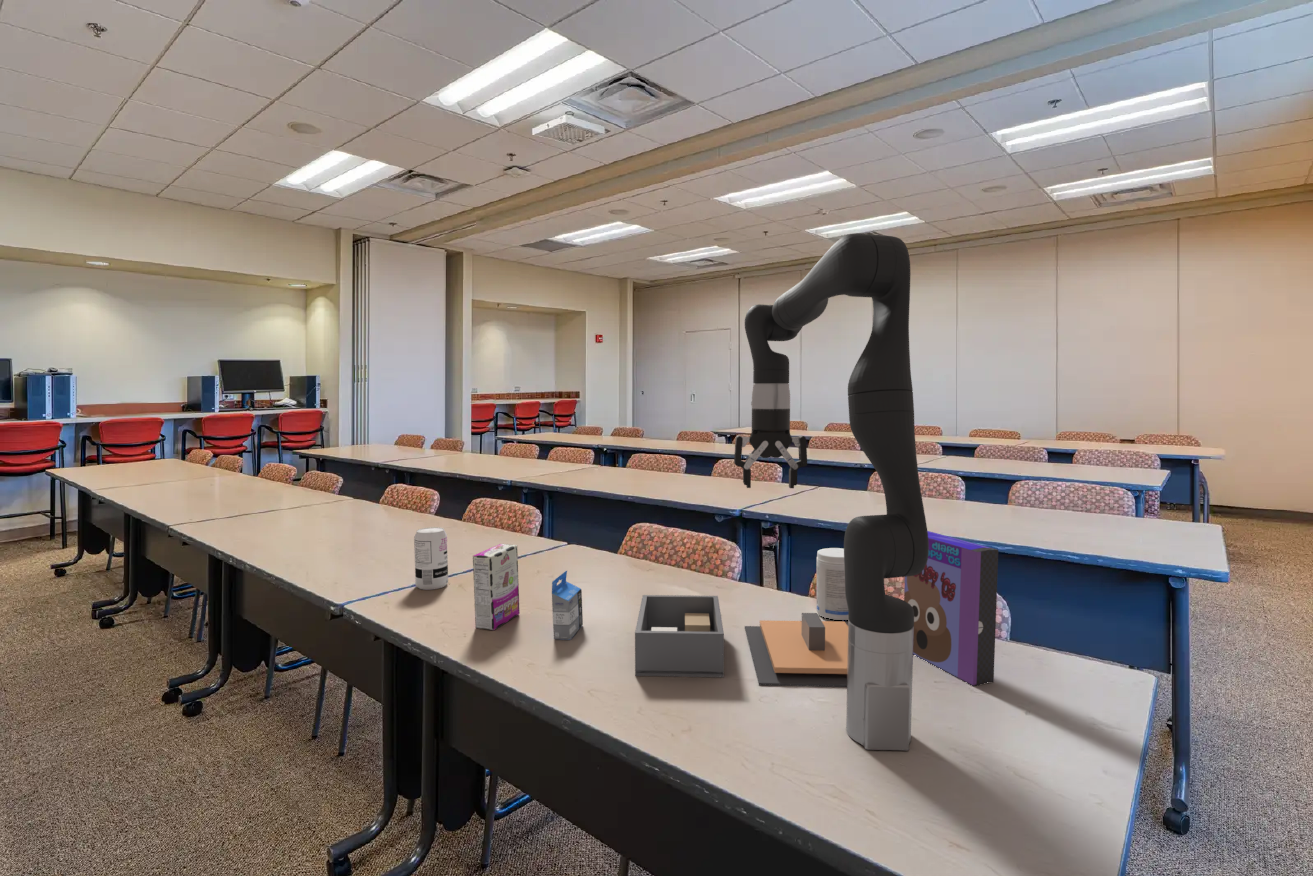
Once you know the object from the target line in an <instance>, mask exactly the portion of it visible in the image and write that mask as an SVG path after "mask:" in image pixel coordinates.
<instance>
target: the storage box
mask: <svg viewBox="0 0 1313 876" xmlns="http://www.w3.org/2000/svg"><path fill="white" fill-rule="evenodd" d="M720 606H721V605H720V601H719V596H718V595H687V594H686V595H679V594H676V595H674V594H667V595H666V594H642V598H641V602H640V607H639V611H638V617H637V621H636V626H635V632H634V675H635V676H634V677H639V676H640V677H641V676H642V677H679V678H680V677H683V678H685V677H687V678H688V677H689V678H690V677H692V678H693V677H694V678H699V677H700V678H724V676H725V674H724V673H725V672H724V671H725V669H724V668H725V656H724V655H725V641H724V640H725V632H724V625H723V620H722V612H721V608H720Z"/></svg>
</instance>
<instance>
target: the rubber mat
mask: <svg viewBox="0 0 1313 876" xmlns="http://www.w3.org/2000/svg"><path fill="white" fill-rule="evenodd" d="M744 630H745V633H746V639H747V642H748V647H749V651H750V654H751V658H752V664H753V667H754V670H755V675H756V679H757V683H758V686H777V687H778V686H783V687H785V686H788V687H790V686H791V687H833V688H834V687H842V688H845V687H846V688H847V674H817V673H775V672H774V669H773V666H772V663H771V660H770V656H769V653H768V650H767V647H766V644H765V641H764V637H763V634H762V631H761V628H760V625H757V626H755V625H744Z"/></svg>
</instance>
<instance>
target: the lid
mask: <svg viewBox="0 0 1313 876" xmlns="http://www.w3.org/2000/svg"><path fill="white" fill-rule="evenodd" d="M759 626H760V628H761V631H762V634H763V637H764V641H765V644H766V647H767V650H768V653H769V656H770V660H771V663H772V666H773V669H774V672H775V673H817V674H847V658H848V623H846V621H834V620H829V621H828V620H827V621H826V620H825V621H824V620H822V619H821V618H820V615H819V614H818V613H817V612H801V620H765V619H764V620H759Z"/></svg>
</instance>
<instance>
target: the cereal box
mask: <svg viewBox="0 0 1313 876" xmlns="http://www.w3.org/2000/svg"><path fill="white" fill-rule="evenodd" d="M927 531H928V541H929V554H928V560H927V564H926V566H925V568H924V570H923V571H922V572H921V573H919V574H917V575H914V576H907V577H904V595H903V597H904V598H903V600H904V601H905V602H907V603H909V604H910V605H911V606H912V608H913V610H914V638H913V656H914V655H916V656H917V657H916V656H915V657H916V658H918V657H919V658H920V659H919V658H918V659H919V660H921V659H923V660H925V661H927V662H928V663H927V662H926V663H927V664H929V663H930V665H931V664H932V666H933V665H934V666H933V667H935V666H936V667H935V668H937V669H939V668H940V669H942V670H943V671H942V670H941V671H942V672H944V671H945V673H946V674H948V673H949V674H948V675H950V674H951V675H950V676H951V677H954V678H956V679H957V680H960V681H961V680H962V682H964V683H965V682H967V683H968V684H967V683H966V684H967V685H969V684H970V685H969V686H971V685H972V686H971V687H976V686H977V685H978V686H981V685H980V684H982V685H985V684H984V683H987V682H992V683H994V681H995V680H994V677H995V658H996V657H995V652H996V649H995V647H996V629H997V628H996V627H997V625H996V622H997V599H998V598H997V597H998V573H999V572H998V569H999V568H998V567H999V549H997V548H992V547H989V546H985V545H981V544H978V543H974V542H970V541H967V540H964V539H960V538H956V537H953V536H948V535H944V534H941V533H937V532H933V531H930V530H927ZM923 660H922V661H923ZM925 661H924V662H925ZM940 669H939V670H940ZM987 684H988V683H987Z"/></svg>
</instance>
